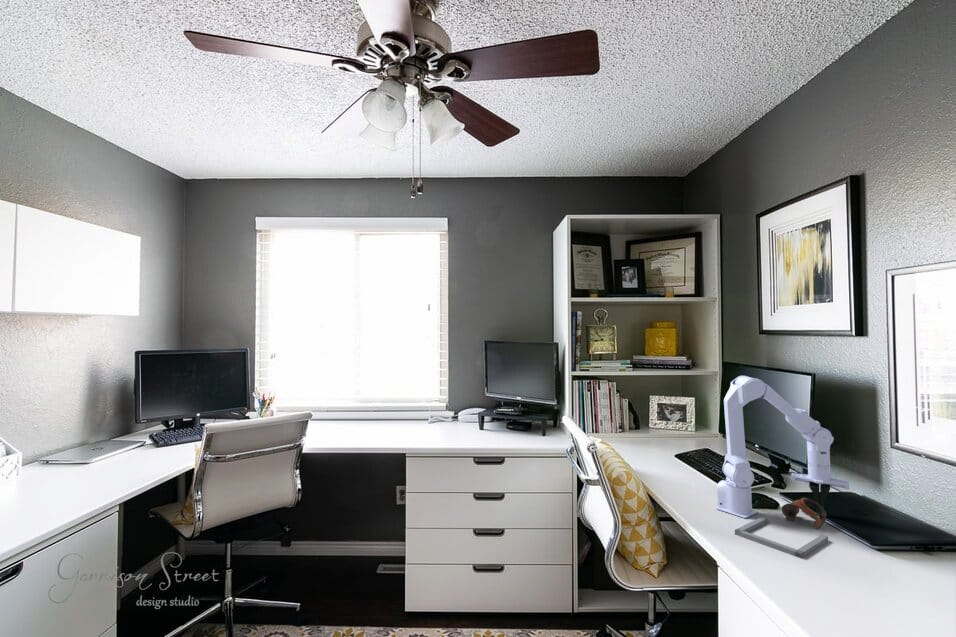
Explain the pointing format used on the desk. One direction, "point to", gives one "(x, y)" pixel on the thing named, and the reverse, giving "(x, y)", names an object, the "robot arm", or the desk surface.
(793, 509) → the orange curved piece
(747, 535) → the frame
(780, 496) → the desk surface
